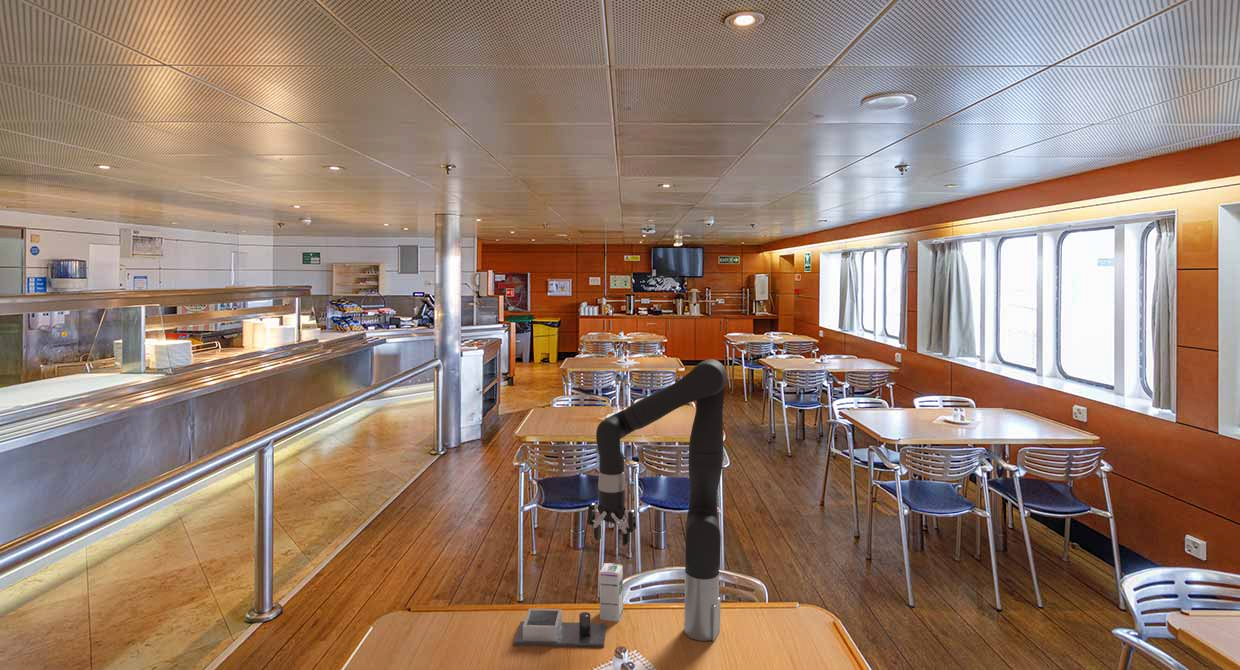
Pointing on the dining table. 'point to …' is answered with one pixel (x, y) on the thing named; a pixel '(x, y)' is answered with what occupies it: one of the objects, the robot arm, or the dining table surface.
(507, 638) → the dining table surface
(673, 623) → the dining table surface
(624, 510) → the robot arm
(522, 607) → the dining table surface
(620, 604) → the syrup box
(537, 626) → the bolt plate
